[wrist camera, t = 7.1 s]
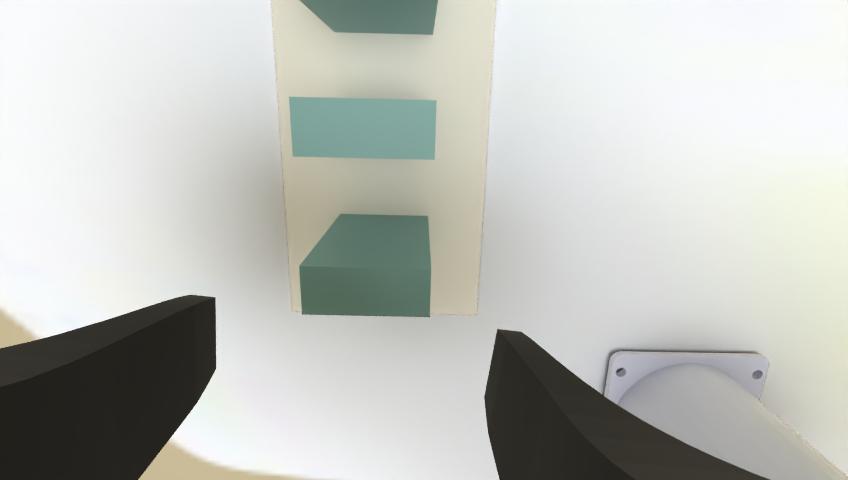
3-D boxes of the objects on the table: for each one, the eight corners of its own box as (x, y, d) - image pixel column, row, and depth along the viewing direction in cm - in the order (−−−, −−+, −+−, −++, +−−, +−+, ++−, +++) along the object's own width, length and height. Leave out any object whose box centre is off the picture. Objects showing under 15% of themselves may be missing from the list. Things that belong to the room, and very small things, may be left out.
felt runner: (476, 312, 22) (476, 315, 21) (293, 308, 22) (292, 311, 21) (520, -412, 14) (522, -423, 14) (244, -422, 14) (241, -433, 14)
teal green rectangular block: (427, 249, 20) (429, 316, 14) (341, 247, 20) (301, 314, 14) (427, 215, 20) (431, 268, 13) (340, 213, 20) (298, 266, 13)
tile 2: (430, 142, 19) (434, 159, 12) (338, 140, 19) (292, 156, 12) (431, 104, 19) (436, 100, 12) (336, 101, 19) (289, 96, 12)
